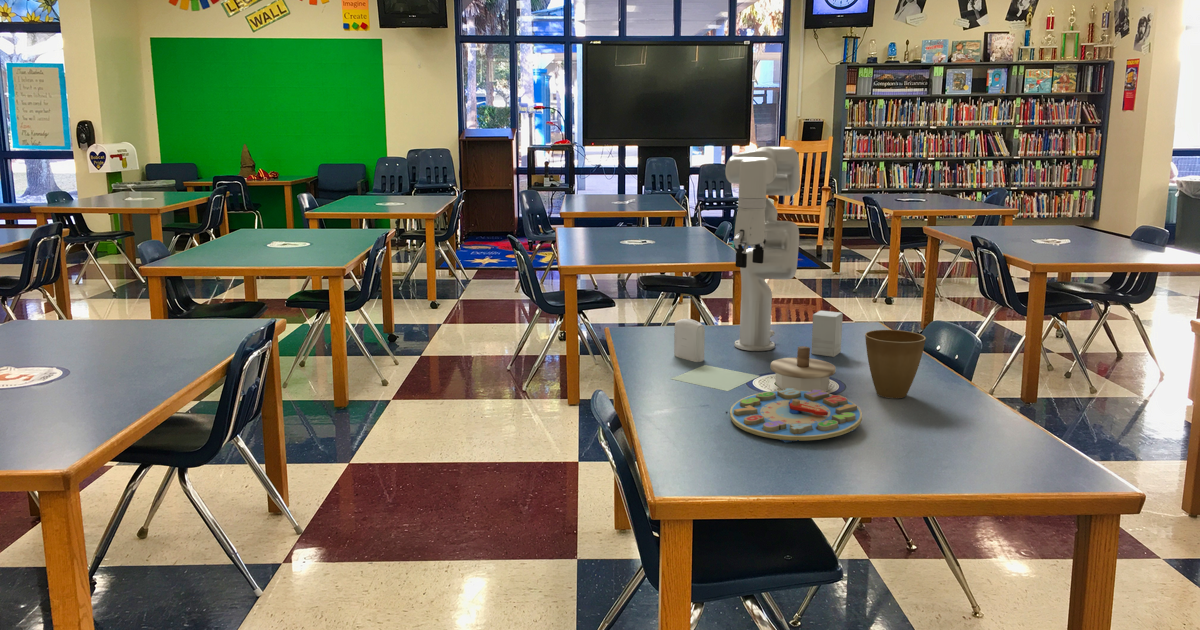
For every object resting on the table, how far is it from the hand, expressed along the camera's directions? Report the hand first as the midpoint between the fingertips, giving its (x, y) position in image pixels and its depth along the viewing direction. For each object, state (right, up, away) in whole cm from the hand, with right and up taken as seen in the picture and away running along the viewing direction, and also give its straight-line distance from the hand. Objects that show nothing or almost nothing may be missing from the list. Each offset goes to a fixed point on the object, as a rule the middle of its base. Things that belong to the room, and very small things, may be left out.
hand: (749, 265), depth 249 cm
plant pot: (+34, -35, -17) cm, 52 cm away
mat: (-10, -32, -4) cm, 34 cm away
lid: (+12, -29, -12) cm, 34 cm away
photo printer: (-15, -28, +16) cm, 36 cm away
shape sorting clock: (+4, -40, -39) cm, 56 cm away
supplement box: (+28, -26, +24) cm, 45 cm away
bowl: (+12, -34, -11) cm, 38 cm away
